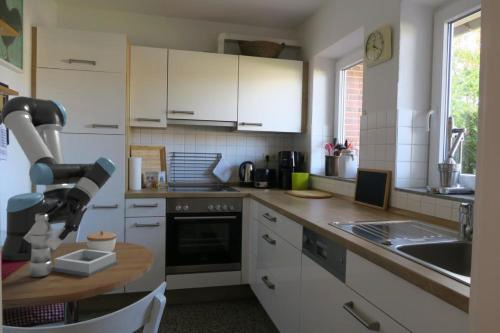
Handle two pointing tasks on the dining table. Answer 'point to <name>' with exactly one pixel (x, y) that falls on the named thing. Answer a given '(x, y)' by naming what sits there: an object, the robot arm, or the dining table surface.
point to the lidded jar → (101, 241)
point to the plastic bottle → (40, 246)
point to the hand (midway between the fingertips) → (38, 244)
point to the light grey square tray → (84, 262)
